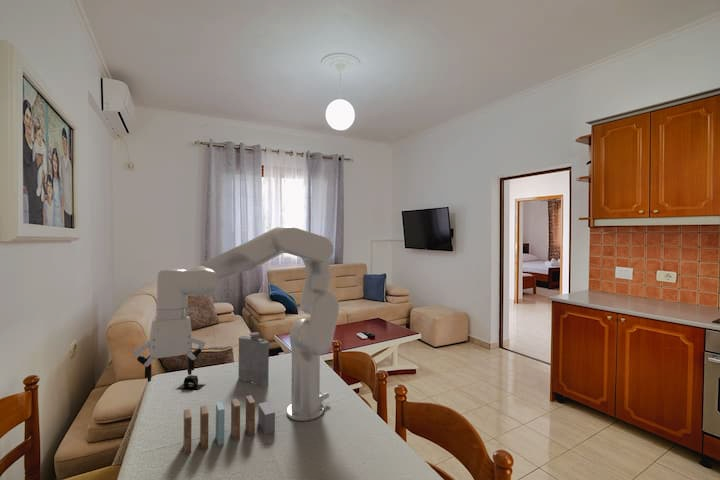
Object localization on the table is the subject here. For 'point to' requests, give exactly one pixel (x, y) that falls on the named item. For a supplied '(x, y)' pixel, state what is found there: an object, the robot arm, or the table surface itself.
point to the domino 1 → (187, 431)
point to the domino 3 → (220, 423)
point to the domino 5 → (250, 415)
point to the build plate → (189, 386)
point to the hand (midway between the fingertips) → (169, 376)
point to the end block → (266, 417)
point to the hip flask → (254, 359)
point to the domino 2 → (204, 426)
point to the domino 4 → (235, 419)
